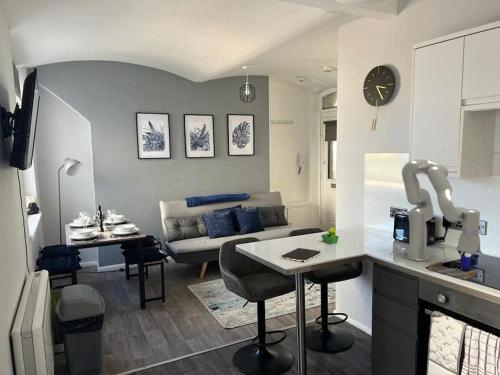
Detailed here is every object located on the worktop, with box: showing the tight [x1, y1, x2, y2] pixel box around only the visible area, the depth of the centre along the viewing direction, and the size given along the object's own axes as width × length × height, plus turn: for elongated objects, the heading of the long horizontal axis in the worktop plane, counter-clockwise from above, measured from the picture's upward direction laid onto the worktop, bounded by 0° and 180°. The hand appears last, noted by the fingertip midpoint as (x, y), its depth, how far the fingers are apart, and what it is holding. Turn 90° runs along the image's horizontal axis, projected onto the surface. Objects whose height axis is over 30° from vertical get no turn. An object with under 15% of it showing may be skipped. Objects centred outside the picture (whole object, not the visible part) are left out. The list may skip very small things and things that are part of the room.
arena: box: [427, 261, 478, 281], centre depth 203 cm, size 20×11×3 cm, turn 32°
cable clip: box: [460, 253, 479, 270], centre depth 209 cm, size 12×4×6 cm, turn 124°
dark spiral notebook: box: [281, 247, 321, 261], centre depth 240 cm, size 16×23×2 cm
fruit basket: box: [321, 226, 340, 245], centre depth 273 cm, size 11×9×11 cm
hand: (467, 264), depth 209 cm, fingers closed on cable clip, 4 cm apart
